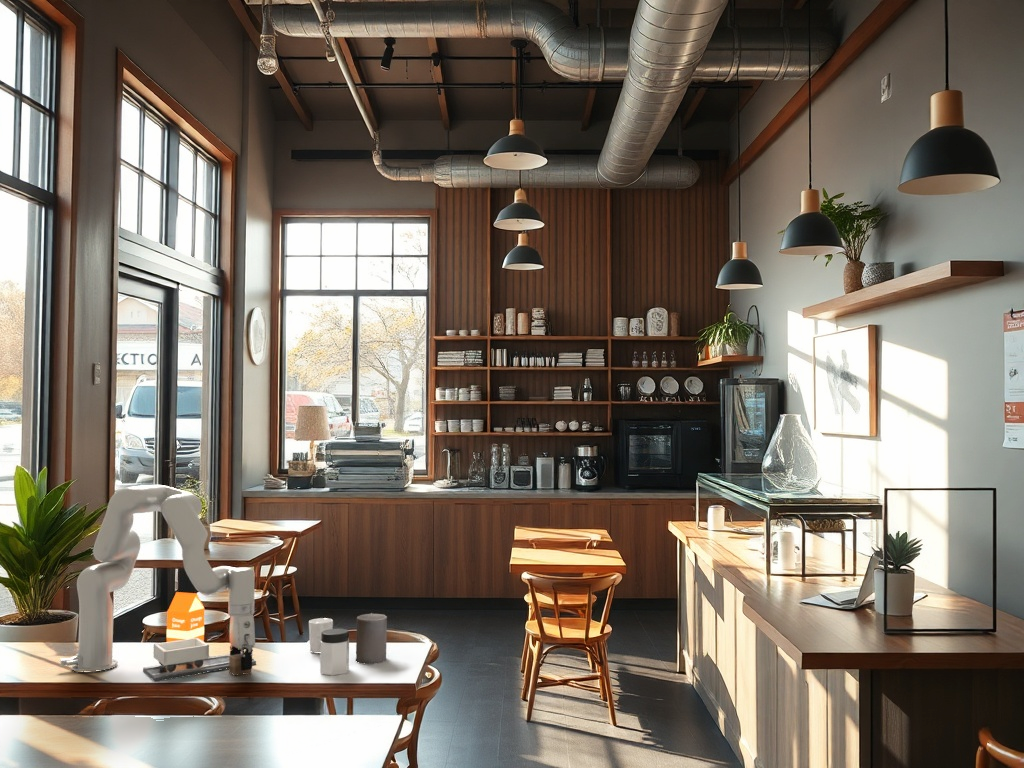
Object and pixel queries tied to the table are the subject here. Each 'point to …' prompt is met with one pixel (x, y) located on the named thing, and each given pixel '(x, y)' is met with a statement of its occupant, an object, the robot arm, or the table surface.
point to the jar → (334, 652)
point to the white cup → (318, 632)
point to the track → (189, 668)
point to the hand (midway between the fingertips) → (240, 666)
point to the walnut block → (236, 665)
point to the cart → (181, 652)
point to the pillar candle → (371, 638)
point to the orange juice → (185, 617)
